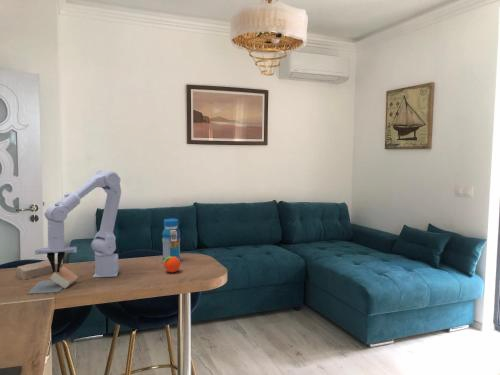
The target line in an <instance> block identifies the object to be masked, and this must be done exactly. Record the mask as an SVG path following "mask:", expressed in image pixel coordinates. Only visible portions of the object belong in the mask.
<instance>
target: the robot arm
mask: <svg viewBox="0 0 500 375" xmlns="http://www.w3.org/2000/svg"><path fill="white" fill-rule="evenodd" d="M96 188H101V189H103V191H104V192H105V193H106V200H105V203H104V208H103V213H102V217H101V222H100V225H99V227H100V228H99V230H98V231H97V232H96V233H95V235H94V239H93V240H92V241H91V245H90V247H91V249H92V250H93V251H94V270H95V271H94V272H95V273H94V274H93V275H92V278H109V277H118V274H119V272H120V265H119V253H114V252H115V251H116V249H117V245H116V239H117V238H116V235H115V234H114V229H115V225H116V224H115V223H116V218H117V214H118V210H119V205H120V199H121V196H122V188H121V176H119V174H118V173H117V172H116V171H105V170H104V171H103V170H99V171H97V172H95V174H92V175H91V176H90V178H89V179H88V180H86V181H85V183H84V184H82V185H81V186H80V187H79V188H78V189H77V190H76V191H75V192H69V193H67V192H66V193H65V194H64V195H63V198H61V199H60V200H58V201H56V202H54V205H50V206H48V207H47V208H46V210H45V212H44V217H45V219H46V220H47V247H41V248H35V249H34V256H36V255H46V258H47V260H49V261H50V264H51V266H52V270H53V273H54V272H55V260H58V266H57V272H59V271H60V265H61V262H62V263H63V259H64V257H65V256H66V255H65V254H66V253H67V254H68V253H77V249H78V248H77V246H65V220H66V219H67V218H68V214H69V213H70V212H72V211H73V210H74V209H75V208H76V207H77V206H79V205H80V204H81V200H82V198H84V197H85V196H86V195H88V194H89V193H90V192H92V191H93V190H95V189H96ZM56 254H57V259H56V257H55V256H56ZM53 273H52V274H53Z"/></svg>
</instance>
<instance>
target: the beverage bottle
mask: <svg viewBox="0 0 500 375" xmlns="http://www.w3.org/2000/svg"><path fill="white" fill-rule="evenodd" d="M163 227H164V229H163V231H162V234H161V235H162V239H161V242H162V261H163V262H165V261H164V260H165V259H166V258H167V257H170V256H175V257H177V258H178V259H179V261H180V260H181V254H180V253H181V248H180V246H181V245H180V242H181V237H180V235H181V233H180V229H179V219H178V218H164V219H163Z"/></svg>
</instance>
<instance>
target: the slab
mask: <svg viewBox="0 0 500 375" xmlns="http://www.w3.org/2000/svg"><path fill="white" fill-rule="evenodd" d="M78 277H79V276H78V275H76V273H74V272H73V271H72V270H70V269H68V268H67V267H65V266H64V265H62V268H60V271H59V272H57V271H55V272H54V273H52V274H51V276H50V278H49V280H53V281H55V282H56V283H57V284H59V285H60V286H62V287H63V288H62V289H67V288H68V287H69V286H70V284H71V285H72V284H73V283H74V282H76V280H77V278H78Z"/></svg>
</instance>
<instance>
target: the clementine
mask: <svg viewBox="0 0 500 375" xmlns="http://www.w3.org/2000/svg"><path fill="white" fill-rule="evenodd" d="M164 261H165V262H164ZM164 261H163V263H162V264H163V266H164V269H165V271H166V272H168V273H175V272H177V271H178V270H179V269H180V267H181V261H180V260H179V259H178V258H177V257H175V256H170V257H167V258H166V259H165V260H164Z"/></svg>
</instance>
